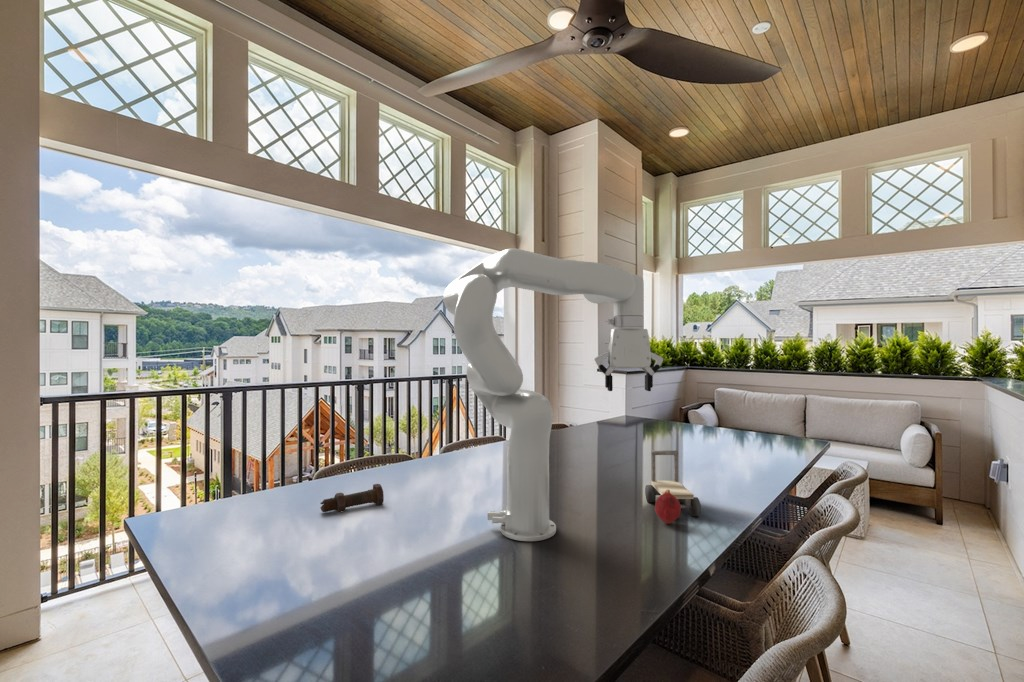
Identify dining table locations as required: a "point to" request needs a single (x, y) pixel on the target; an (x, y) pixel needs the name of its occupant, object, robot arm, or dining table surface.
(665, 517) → the onion
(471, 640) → the dining table surface
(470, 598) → the dining table surface
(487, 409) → the robot arm
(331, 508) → the bolt
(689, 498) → the trolley
